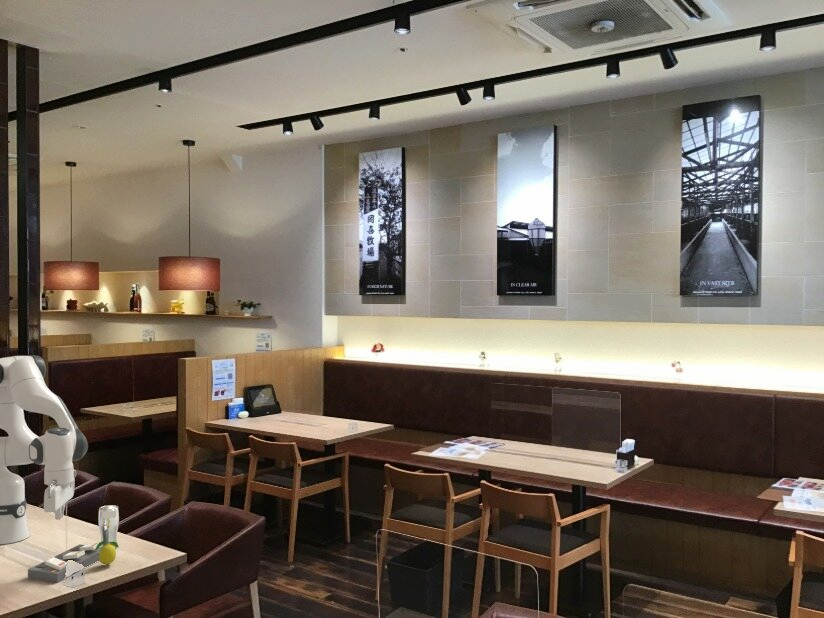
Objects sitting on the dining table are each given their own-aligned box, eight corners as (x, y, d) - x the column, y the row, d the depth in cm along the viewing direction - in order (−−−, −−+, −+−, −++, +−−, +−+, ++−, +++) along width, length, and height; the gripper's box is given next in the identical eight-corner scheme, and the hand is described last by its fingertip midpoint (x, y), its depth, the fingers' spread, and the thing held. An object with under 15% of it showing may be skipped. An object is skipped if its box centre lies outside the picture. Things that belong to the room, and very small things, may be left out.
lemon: (95, 569, 252) (94, 541, 252) (98, 563, 258) (98, 535, 258) (115, 568, 254) (115, 539, 253) (118, 561, 259) (118, 533, 259)
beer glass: (111, 552, 268) (111, 511, 268) (94, 550, 270) (94, 510, 269) (123, 545, 275) (122, 505, 275) (106, 543, 277) (105, 504, 276)
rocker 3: (80, 551, 261) (79, 547, 261) (87, 547, 264) (86, 544, 264) (93, 549, 259) (93, 545, 259) (100, 545, 262) (100, 542, 262)
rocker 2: (63, 559, 253) (62, 555, 253) (71, 555, 256) (70, 552, 256) (77, 557, 251) (76, 553, 251) (85, 553, 255) (84, 550, 255)
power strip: (27, 578, 245) (27, 568, 245) (79, 552, 268) (79, 543, 268) (57, 582, 241) (57, 573, 241) (107, 556, 264) (107, 547, 264)
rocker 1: (44, 564, 245) (45, 560, 245) (53, 560, 249) (53, 556, 249) (59, 570, 244) (60, 566, 244) (67, 566, 247) (68, 562, 247)
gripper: (59, 484, 237) (59, 527, 237) (77, 470, 257) (78, 509, 257) (38, 484, 236) (38, 528, 236) (58, 470, 256) (58, 510, 256)
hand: (59, 518), depth 247 cm, fingers closed
